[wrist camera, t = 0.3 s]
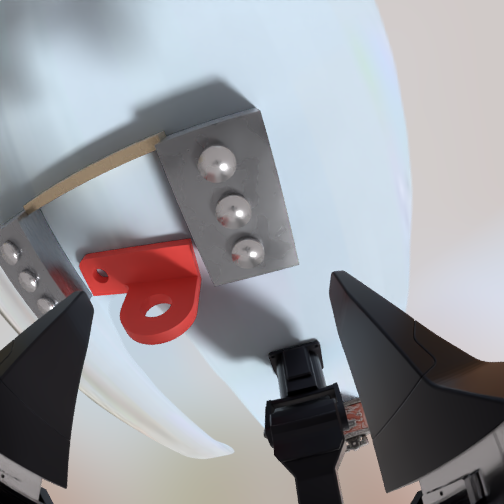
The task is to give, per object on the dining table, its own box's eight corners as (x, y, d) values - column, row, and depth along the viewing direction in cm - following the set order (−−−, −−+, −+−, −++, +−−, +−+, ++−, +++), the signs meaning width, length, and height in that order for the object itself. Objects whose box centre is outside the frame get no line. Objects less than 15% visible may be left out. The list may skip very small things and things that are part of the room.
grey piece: (291, 241, 25) (300, 269, 21) (54, 305, 28) (41, 328, 24) (254, 101, 18) (258, 103, 15) (1, 221, 21) (-20, 239, 18)
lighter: (361, 395, 44) (375, 441, 36) (363, 401, 46) (376, 444, 37) (321, 410, 45) (330, 455, 37) (324, 415, 47) (334, 458, 39)
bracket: (190, 237, 24) (176, 298, 18) (201, 278, 27) (193, 342, 20) (80, 254, 24) (45, 307, 18) (97, 289, 27) (70, 344, 20)
